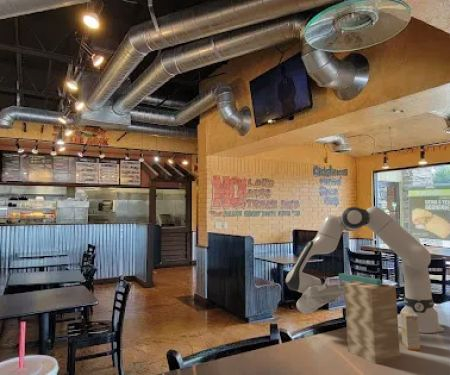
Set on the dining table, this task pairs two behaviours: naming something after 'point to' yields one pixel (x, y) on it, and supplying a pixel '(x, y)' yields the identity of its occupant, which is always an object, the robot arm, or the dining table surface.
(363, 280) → the teal bar
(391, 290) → the birch post
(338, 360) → the dining table surface
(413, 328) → the supplement box
